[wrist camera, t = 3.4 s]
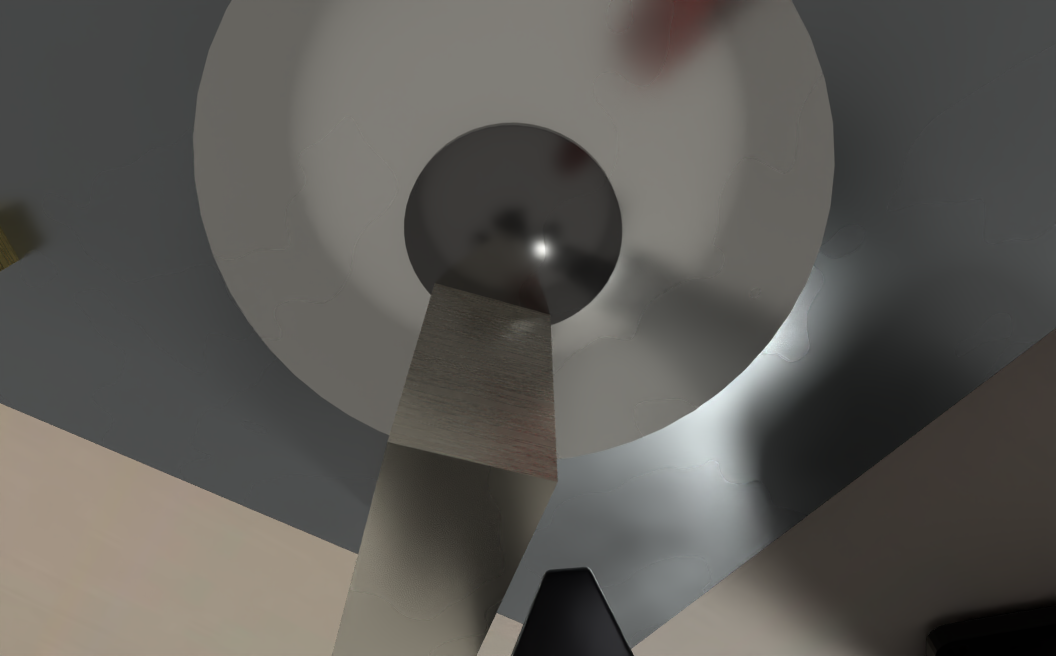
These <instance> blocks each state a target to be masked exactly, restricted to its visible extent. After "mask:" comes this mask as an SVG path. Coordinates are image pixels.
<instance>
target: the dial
mask: <svg viewBox="0 0 1056 656" xmlns="http://www.w3.org/2000/svg"><path fill="white" fill-rule="evenodd" d="M193 149H194V177H195V184H196V189H197V195H198V201H199V207H200V213H201V218H202V221H203V225H204V228H205V231H206V234H207V237H208V241H209V244H210V247H211V250H212V253H213V256H214V258H215V261H216V263H217V265H218V267H219V269H220V272H221V274H222V276H223V278H224V280H225V283H226V285H227V287H228V289H229V291H230V293H231V294H232V296H233V298H234V299H235V301H236V303H237V304H238V306H239V307H240V309H241V311H242V312H243V314H244V316H245V317H246V319H247V321H248V322H249V323H250V325H251V326H252V327H253V328H254V330H255V331H256V332H257V334H258V335H259V336H260V337H261V339H262V340H263V341H264V343H265V344H266V345H267V346H268V348H269V349H270V350H271V351H272V352H273V353H274V354H275V355H276V356H277V357H278V358H279V359H280V360H281V361H282V362H283V364H284V365H285V366H286V367H287V368H288V369H289V370H290V371H291V372H292V373H293V374H294V375H295V376H296V377H298V378H299V379H300V380H301V381H303V382H304V383H305V384H306V385H307V386H309V387H310V388H311V389H312V390H314V391H315V392H316V393H317V394H318V395H320V396H321V397H322V398H324V399H325V400H327V401H328V402H330V403H331V404H333V405H334V406H336V407H337V408H339V409H340V410H342V411H343V412H345V413H346V414H348V415H349V416H351V417H353V418H355V419H357V420H359V421H361V422H363V423H364V424H366V425H368V426H370V427H372V428H374V429H376V430H378V431H380V432H382V433H385V434H387V435H389V438H388V442H387V445H386V449H385V453H384V457H383V461H382V465H381V469H380V472H379V476H378V480H377V484H376V488H375V492H374V496H373V499H372V503H371V507H370V511H369V515H368V519H367V522H366V526H365V530H364V534H363V538H362V542H361V546H360V549H359V553H358V557H357V561H356V565H355V569H354V573H353V576H352V580H351V584H350V588H349V592H348V596H347V600H346V603H345V607H344V611H343V615H342V619H341V623H340V627H339V630H338V634H337V638H336V642H335V646H334V650H333V653H332V656H476V655H477V653H478V651H479V649H480V647H481V645H482V643H483V640H484V638H485V636H486V634H487V632H488V630H489V628H490V625H491V623H492V621H493V619H494V617H495V615H496V613H497V611H498V608H499V606H500V604H501V602H502V600H503V598H504V596H505V593H506V591H507V589H508V587H509V585H510V583H511V581H512V579H513V576H514V574H515V572H516V570H517V568H518V566H519V564H520V561H521V559H522V557H523V555H524V553H525V551H526V549H527V546H528V544H529V542H530V540H531V538H532V536H533V534H534V532H535V529H536V527H537V525H538V523H539V521H540V519H541V517H542V514H543V512H544V510H545V508H546V506H547V504H548V502H549V500H550V497H551V495H552V493H553V491H554V489H555V487H556V485H557V482H558V477H557V459H564V458H572V457H576V456H581V455H586V454H591V453H595V452H600V451H604V450H607V449H610V448H613V447H617V446H620V445H623V444H626V443H629V442H632V441H635V440H637V439H640V438H642V437H644V436H646V435H649V434H651V433H653V432H656V431H658V430H660V429H663V428H665V427H666V426H668V425H670V424H672V423H673V422H675V421H677V420H679V419H681V418H682V417H684V416H686V415H688V414H689V413H691V412H693V411H694V410H696V409H697V408H699V407H700V406H701V405H703V404H704V403H706V402H707V401H708V400H710V399H711V398H713V397H714V396H715V395H717V394H718V393H720V392H721V391H722V390H723V389H724V388H725V387H726V386H728V385H729V384H730V383H731V382H732V381H733V380H734V379H735V378H737V377H738V376H739V375H740V374H741V373H742V372H743V371H744V370H745V369H746V368H747V367H748V366H749V365H750V364H751V363H752V362H753V361H754V359H755V358H756V357H757V356H758V355H759V354H760V353H761V352H762V351H763V349H764V348H765V347H766V346H767V345H768V344H769V343H770V341H771V340H772V338H773V337H774V336H775V334H776V333H777V331H778V330H779V328H780V327H781V326H782V324H783V323H784V321H785V320H786V318H787V317H788V316H789V314H790V313H791V311H792V309H793V307H794V305H795V303H796V301H797V299H798V298H799V296H800V294H801V292H802V290H803V288H804V286H805V284H806V283H807V281H808V278H809V276H810V273H811V270H812V268H813V265H814V263H815V260H816V257H817V255H818V252H819V249H820V247H821V244H822V240H823V236H824V231H825V227H826V223H827V219H828V215H829V211H830V206H831V197H832V187H833V177H834V167H835V162H834V136H833V120H832V115H831V109H830V104H829V99H828V93H827V88H826V82H825V78H824V75H823V72H822V69H821V66H820V63H819V61H818V58H817V55H816V52H815V49H814V46H813V43H812V40H811V37H810V35H809V33H808V31H807V29H806V27H805V25H804V23H803V21H802V20H801V18H800V16H799V14H798V12H797V10H796V8H795V6H794V4H793V2H792V0H232V1H231V2H230V4H229V5H228V7H227V9H226V11H225V14H224V16H223V18H222V21H221V23H220V25H219V28H218V30H217V32H216V35H215V37H214V39H213V42H212V44H211V46H210V49H209V51H208V55H207V59H206V63H205V67H204V71H203V75H202V79H201V82H200V86H199V90H198V95H197V104H196V113H195V123H194V132H193Z"/></svg>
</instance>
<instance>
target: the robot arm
mask: <svg viewBox="0 0 1056 656" xmlns="http://www.w3.org/2000/svg"><path fill="white" fill-rule="evenodd" d="M511 656H634V655H633V653H632V651H631V649H630V647H629V645H628V643H627V641H626V639H625V637H624V635H623V633H622V631H621V629H620V627H619V625H618V623H617V621H616V619H615V617H614V615H613V613H612V611H611V609H610V607H609V605H608V603H607V601H606V599H605V597H604V595H603V593H602V591H601V589H600V587H599V585H598V583H597V581H596V579H595V577H594V575H593V573H592V571H591V570H590V569H589V568H588V567H576V568H563V569H550V570H547V571H546V572H545V573H544V575H543V577H542V579H541V582H540V584H539V587H538V589H537V592H536V594H535V597H534V599H533V602H532V604H531V607H530V609H529V612H528V614H527V617H526V619H525V622H524V624H523V627H522V629H521V632H520V634H519V637H518V639H517V642H516V644H515V647H514V649H513V652H512V654H511ZM926 656H1056V606H1052V607H1046V608H1040V609H1034V610H1028V611H1022V612H1017V613H1011V614H1005V615H999V616H993V617H987V618H981V619H976V620H970V621H964V622H958V623H952V624H947V625H944V626H940V627H938V628H936V629H934V630H932V631H931V632H930V633H929V634H928V636H927V639H926Z"/></svg>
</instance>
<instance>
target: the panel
mask: <svg viewBox="0 0 1056 656" xmlns="http://www.w3.org/2000/svg"><path fill="white" fill-rule="evenodd" d="M231 1H232V0H0V403H1V404H4V405H6V406H8V407H11V408H13V409H15V410H18V411H20V412H23V413H25V414H27V415H30V416H32V417H34V418H37V419H39V420H41V421H44V422H46V423H49V424H51V425H53V426H56V427H58V428H60V429H63V430H65V431H68V432H70V433H72V434H75V435H77V436H79V437H82V438H84V439H86V440H89V441H91V442H94V443H96V444H98V445H101V446H103V447H105V448H108V449H110V450H112V451H115V452H117V453H120V454H122V455H124V456H127V457H129V458H131V459H134V460H136V461H139V462H141V463H143V464H146V465H148V466H150V467H153V468H155V469H157V470H160V471H162V472H165V473H167V474H169V475H172V476H174V477H176V478H179V479H181V480H184V481H186V482H188V483H191V484H193V485H195V486H198V487H200V488H202V489H205V490H207V491H210V492H212V493H214V494H217V495H219V496H221V497H224V498H226V499H229V500H231V501H233V502H236V503H238V504H240V505H243V506H245V507H247V508H250V509H252V510H255V511H257V512H259V513H262V514H264V515H266V516H269V517H271V518H274V519H276V520H278V521H281V522H283V523H285V524H288V525H290V526H292V527H295V528H297V529H300V530H302V531H304V532H307V533H309V534H311V535H314V536H316V537H319V538H321V539H323V540H326V541H328V542H330V543H333V544H335V545H337V546H340V547H342V548H345V549H347V550H349V551H352V552H354V553H356V554H358V553H359V549H360V546H361V542H362V538H363V534H364V530H365V526H366V522H367V519H368V515H369V511H370V507H371V503H372V499H373V496H374V492H375V488H376V484H377V480H378V476H379V472H380V469H381V465H382V461H383V457H384V453H385V449H386V445H387V442H388V438H389V435H387V434H385V433H382V432H380V431H378V430H376V429H374V428H372V427H370V426H368V425H366V424H364V423H363V422H361V421H359V420H357V419H355V418H353V417H351V416H349V415H348V414H346V413H345V412H343V411H342V410H340V409H339V408H337V407H336V406H334V405H333V404H331V403H330V402H328V401H327V400H325V399H324V398H322V397H321V396H320V395H318V394H317V393H316V392H315V391H314V390H312V389H311V388H310V387H309V386H307V385H306V384H305V383H304V382H303V381H301V380H300V379H299V378H298V377H296V376H295V375H294V374H293V373H292V372H291V371H290V370H289V369H288V368H287V367H286V366H285V365H284V364H283V362H282V361H281V360H280V359H279V358H278V357H277V356H276V355H275V354H274V353H273V352H272V351H271V350H270V349H269V348H268V346H267V345H266V344H265V343H264V341H263V340H262V339H261V337H260V336H259V335H258V334H257V332H256V331H255V330H254V328H253V327H252V326H251V325H250V323H249V322H248V321H247V319H246V317H245V316H244V314H243V312H242V311H241V309H240V307H239V306H238V304H237V303H236V301H235V299H234V298H233V296H232V294H231V293H230V291H229V289H228V287H227V285H226V283H225V280H224V278H223V276H222V274H221V272H220V269H219V267H218V265H217V263H216V261H215V258H214V256H213V253H212V250H211V247H210V244H209V241H208V237H207V234H206V231H205V228H204V225H203V221H202V218H201V213H200V207H199V201H198V195H197V189H196V184H195V177H194V149H193V132H194V123H195V113H196V104H197V95H198V90H199V86H200V82H201V79H202V75H203V71H204V67H205V63H206V59H207V55H208V51H209V49H210V46H211V44H212V42H213V39H214V37H215V35H216V32H217V30H218V28H219V25H220V23H221V21H222V18H223V16H224V14H225V11H226V9H227V7H228V5H229V4H230V2H231ZM792 2H793V4H794V6H795V8H796V10H797V12H798V14H799V16H800V18H801V20H802V21H803V23H804V25H805V27H806V29H807V31H808V33H809V35H810V37H811V40H812V43H813V46H814V49H815V52H816V55H817V58H818V61H819V63H820V66H821V69H822V72H823V75H824V78H825V82H826V88H827V93H828V99H829V104H830V109H831V115H832V120H833V136H834V162H835V167H834V177H833V187H832V197H831V206H830V211H829V215H828V219H827V223H826V227H825V231H824V236H823V240H822V244H821V247H820V249H819V252H818V255H817V257H816V260H815V263H814V265H813V268H812V270H811V273H810V276H809V278H808V281H807V283H806V284H805V286H804V288H803V290H802V292H801V294H800V296H799V298H798V299H797V301H796V303H795V305H794V307H793V309H792V311H791V313H790V314H789V316H788V317H787V318H786V320H785V321H784V323H783V324H782V326H781V327H780V328H779V330H778V331H777V333H776V334H775V336H774V337H773V338H772V340H771V341H770V343H769V344H768V345H767V346H766V347H765V348H764V349H763V351H762V352H761V353H760V354H759V355H758V356H757V357H756V358H755V359H754V361H753V362H752V363H751V364H750V365H749V366H748V367H747V368H746V369H745V370H744V371H743V372H742V373H741V374H740V375H739V376H738V377H737V378H735V379H734V380H733V381H732V382H731V383H730V384H729V385H728V386H726V387H725V388H724V389H723V390H722V391H721V392H720V393H718V394H717V395H715V396H714V397H713V398H711V399H710V400H708V401H707V402H706V403H704V404H703V405H701V406H700V407H699V408H697V409H696V410H694V411H693V412H691V413H689V414H688V415H686V416H684V417H682V418H681V419H679V420H677V421H675V422H673V423H672V424H670V425H668V426H666V427H665V428H663V429H660V430H658V431H656V432H653V433H651V434H649V435H646V436H644V437H642V438H640V439H637V440H635V441H632V442H629V443H626V444H623V445H620V446H617V447H613V448H610V449H607V450H604V451H600V452H595V453H591V454H586V455H581V456H576V457H572V458H564V459H557V477H558V482H557V485H556V487H555V489H554V491H553V493H552V495H551V497H550V500H549V502H548V504H547V506H546V508H545V510H544V512H543V514H542V517H541V519H540V521H539V523H538V525H537V527H536V529H535V532H534V534H533V536H532V538H531V540H530V542H529V544H528V546H527V549H526V551H525V553H524V555H523V557H522V559H521V561H520V564H519V566H518V568H517V570H516V572H515V574H514V576H513V579H512V581H511V583H510V585H509V587H508V589H507V591H506V593H505V596H504V598H503V600H502V602H501V604H500V606H499V608H498V611H497V613H499V614H501V615H503V616H506V617H508V618H510V619H513V620H515V621H517V622H520V623H522V624H524V622H525V619H526V617H527V614H528V612H529V609H530V607H531V604H532V602H533V599H534V597H535V594H536V592H537V589H538V587H539V584H540V582H541V579H542V577H543V575H544V573H545V572H546V571H547V570H550V569H563V568H576V567H588V568H589V569H590V570H591V571H592V573H593V575H594V577H595V579H596V581H597V583H598V585H599V587H600V589H601V591H602V593H603V595H604V597H605V599H606V601H607V603H608V605H609V607H610V609H611V611H612V613H613V615H614V617H615V619H616V621H617V623H618V625H619V627H620V629H621V631H622V633H623V635H624V637H625V639H626V641H627V643H628V645H629V647H630V649H632V648H633V647H634V646H635V645H637V644H638V643H639V642H641V641H642V640H643V639H645V638H646V637H647V636H649V635H650V634H651V633H653V632H654V631H655V630H657V629H658V628H659V627H661V626H662V625H663V624H665V623H666V622H667V621H669V620H670V619H671V618H673V617H674V616H675V615H677V614H678V613H679V612H680V611H682V610H683V609H684V608H686V607H687V606H688V605H690V604H691V603H692V602H694V601H695V600H696V599H698V598H699V597H700V596H702V595H703V594H704V593H706V592H707V591H708V590H710V589H711V588H712V587H714V586H715V585H716V584H718V583H719V582H720V581H722V580H723V579H724V578H726V577H727V576H728V575H729V574H731V573H732V572H733V571H735V570H736V569H737V568H739V567H740V566H741V565H743V564H744V563H745V562H747V561H748V560H749V559H751V558H752V557H753V556H755V555H756V554H757V553H759V552H760V551H761V550H763V549H764V548H765V547H767V546H768V545H769V544H771V543H772V542H773V541H775V540H776V539H777V538H778V537H780V536H781V535H782V534H784V533H785V532H786V531H788V530H789V529H790V528H792V527H793V526H794V525H796V524H797V523H798V522H800V521H801V520H802V519H804V518H805V517H806V516H808V515H809V514H810V513H812V512H813V511H814V510H816V509H817V508H818V507H820V506H821V505H822V504H823V503H825V502H826V501H827V500H829V499H830V498H831V497H833V496H834V495H835V494H837V493H838V492H839V491H841V490H842V489H843V488H845V487H846V486H847V485H849V484H850V483H851V482H853V481H854V480H855V479H857V478H858V477H859V476H861V475H862V474H863V473H865V472H866V471H867V470H869V469H870V468H871V467H872V466H874V465H875V464H876V463H878V462H879V461H880V460H882V459H883V458H884V457H886V456H887V455H888V454H890V453H891V452H892V451H894V450H895V449H896V448H898V447H899V446H900V445H902V444H903V443H904V442H906V441H907V440H908V439H910V438H911V437H912V436H914V435H915V434H916V433H918V432H919V431H920V430H921V429H923V428H924V427H925V426H927V425H928V424H929V423H931V422H932V421H933V420H935V419H936V418H937V417H939V416H940V415H941V414H943V413H944V412H945V411H947V410H948V409H949V408H951V407H952V406H953V405H955V404H956V403H957V402H959V401H960V400H961V399H963V398H964V397H965V396H967V395H968V394H969V393H970V392H972V391H973V390H974V389H976V388H977V387H978V386H980V385H981V384H982V383H984V382H985V381H986V380H988V379H989V378H990V377H992V376H993V375H994V374H996V373H997V372H998V371H1000V370H1001V369H1002V368H1004V367H1005V366H1006V365H1008V364H1009V363H1010V362H1012V361H1013V360H1014V359H1015V358H1017V357H1018V356H1019V355H1021V354H1022V353H1023V352H1025V351H1026V350H1027V349H1029V348H1030V347H1031V346H1033V345H1034V344H1035V343H1037V342H1038V341H1039V340H1041V339H1042V338H1043V337H1045V336H1046V335H1047V334H1049V333H1050V332H1051V331H1053V330H1054V329H1055V328H1056V0H792Z"/></svg>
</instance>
